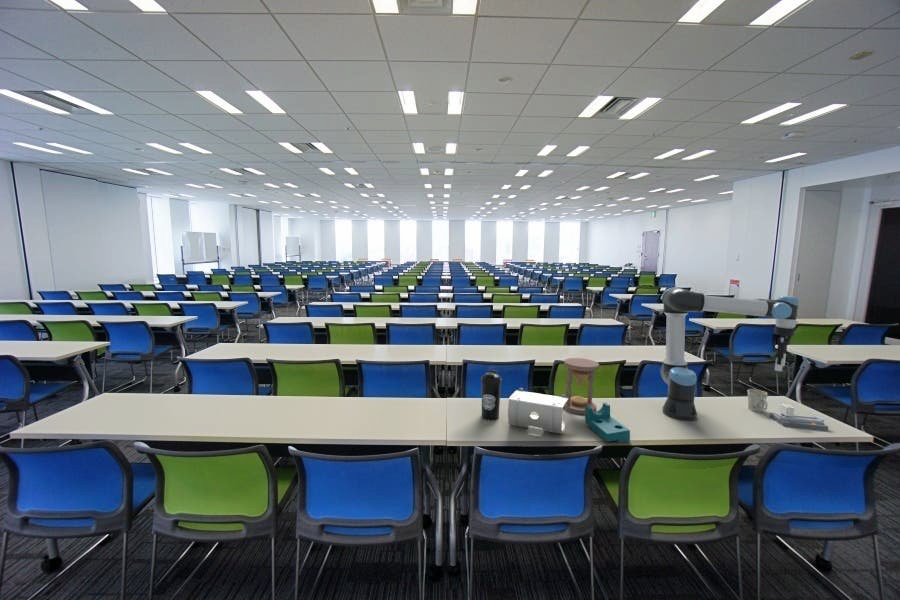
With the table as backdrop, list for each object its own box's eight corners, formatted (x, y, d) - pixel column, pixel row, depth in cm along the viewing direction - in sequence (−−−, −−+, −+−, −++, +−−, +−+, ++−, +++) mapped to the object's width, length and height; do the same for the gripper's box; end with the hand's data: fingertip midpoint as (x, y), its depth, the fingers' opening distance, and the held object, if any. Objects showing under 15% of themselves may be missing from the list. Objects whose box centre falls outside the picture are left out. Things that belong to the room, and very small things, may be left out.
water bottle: (477, 419, 183) (478, 373, 180) (483, 411, 192) (484, 368, 190) (497, 422, 179) (499, 376, 177) (502, 414, 189) (504, 370, 186)
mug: (758, 407, 205) (760, 389, 204) (775, 416, 192) (777, 398, 191) (741, 406, 206) (743, 388, 204) (758, 415, 193) (760, 397, 192)
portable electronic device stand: (505, 432, 170) (506, 399, 168) (515, 412, 192) (516, 383, 190) (563, 443, 161) (565, 408, 159) (567, 421, 183) (569, 390, 181)
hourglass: (587, 401, 208) (590, 357, 206) (602, 414, 191) (605, 367, 188) (556, 401, 207) (559, 357, 205) (568, 414, 190) (571, 367, 187)
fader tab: (785, 419, 184) (786, 406, 183) (779, 415, 188) (780, 403, 188) (793, 419, 183) (794, 407, 182) (786, 415, 188) (788, 403, 187)
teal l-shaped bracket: (585, 426, 179) (584, 405, 177) (606, 423, 181) (605, 402, 179) (607, 444, 161) (607, 422, 160) (630, 441, 163) (629, 418, 162)
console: (782, 425, 182) (783, 417, 181) (769, 416, 192) (770, 409, 192) (827, 430, 177) (828, 422, 177) (811, 420, 188) (812, 413, 187)
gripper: (793, 331, 175) (787, 374, 178) (797, 325, 193) (791, 365, 195) (772, 328, 181) (766, 371, 183) (777, 323, 198) (772, 362, 201)
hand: (779, 368), depth 189 cm, fingers open, 13 cm apart
